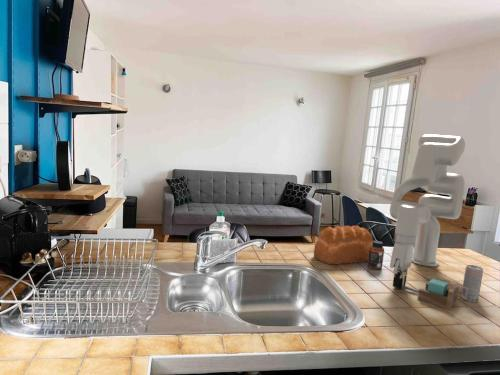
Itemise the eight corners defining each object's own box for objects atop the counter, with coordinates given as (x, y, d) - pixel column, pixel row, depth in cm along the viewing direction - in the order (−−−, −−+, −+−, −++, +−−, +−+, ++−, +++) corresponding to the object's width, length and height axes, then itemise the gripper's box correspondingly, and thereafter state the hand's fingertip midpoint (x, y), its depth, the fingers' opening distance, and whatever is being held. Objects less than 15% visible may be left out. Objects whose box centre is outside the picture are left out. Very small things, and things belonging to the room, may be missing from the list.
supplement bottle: (382, 270, 158) (386, 244, 156) (368, 268, 159) (371, 242, 157) (380, 266, 164) (384, 240, 162) (366, 264, 165) (369, 239, 163)
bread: (310, 256, 171) (313, 223, 168) (356, 252, 182) (359, 221, 180) (328, 266, 158) (332, 231, 156) (376, 262, 169) (380, 228, 167)
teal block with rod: (392, 287, 139) (394, 271, 138) (397, 283, 143) (399, 268, 142) (441, 303, 128) (444, 286, 127) (445, 299, 132) (448, 282, 131)
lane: (425, 292, 138) (427, 276, 137) (456, 301, 131) (458, 285, 131) (417, 299, 131) (420, 282, 130) (449, 309, 125) (452, 292, 124)
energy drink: (476, 298, 136) (481, 266, 134) (479, 303, 131) (485, 271, 129) (459, 294, 138) (464, 263, 136) (462, 300, 133) (467, 268, 131)
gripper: (402, 232, 146) (396, 277, 149) (386, 239, 134) (380, 288, 136) (423, 237, 141) (416, 283, 144) (408, 245, 129) (401, 295, 131)
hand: (398, 285), depth 140 cm, fingers closed on teal block with rod, 3 cm apart
